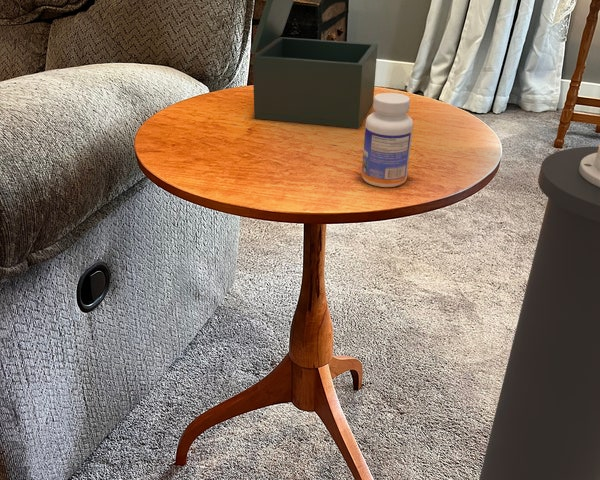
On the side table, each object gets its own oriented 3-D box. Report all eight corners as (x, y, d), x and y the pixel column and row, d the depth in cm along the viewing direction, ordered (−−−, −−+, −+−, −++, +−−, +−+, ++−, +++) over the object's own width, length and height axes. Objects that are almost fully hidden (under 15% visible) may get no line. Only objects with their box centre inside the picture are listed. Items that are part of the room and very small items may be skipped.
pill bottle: (366, 168, 80) (372, 88, 74) (410, 173, 78) (419, 93, 73) (356, 184, 75) (362, 101, 70) (402, 191, 74) (411, 106, 69)
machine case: (373, 101, 103) (377, 43, 98) (358, 128, 92) (362, 64, 87) (279, 93, 106) (279, 36, 101) (254, 118, 95) (252, 56, 90)
